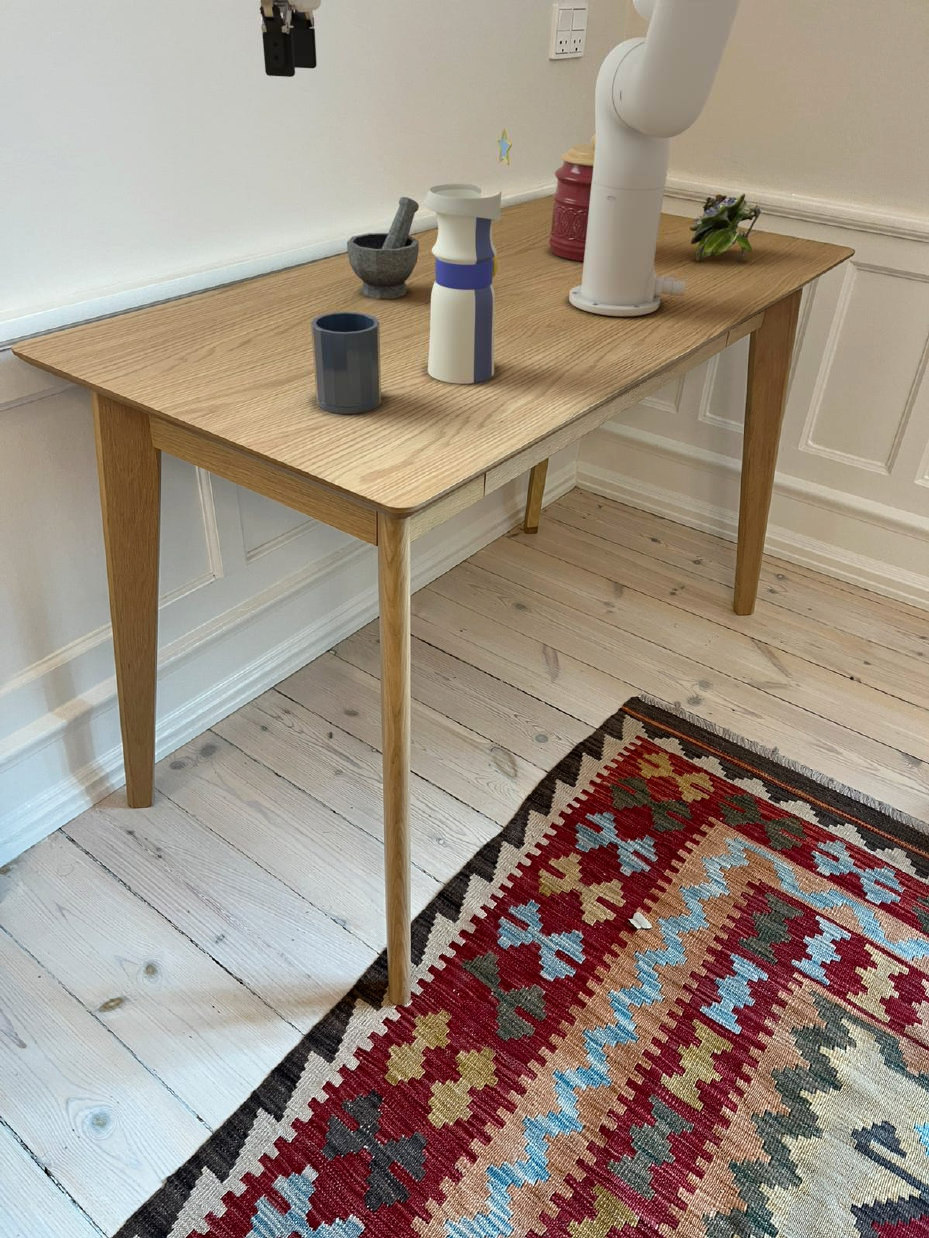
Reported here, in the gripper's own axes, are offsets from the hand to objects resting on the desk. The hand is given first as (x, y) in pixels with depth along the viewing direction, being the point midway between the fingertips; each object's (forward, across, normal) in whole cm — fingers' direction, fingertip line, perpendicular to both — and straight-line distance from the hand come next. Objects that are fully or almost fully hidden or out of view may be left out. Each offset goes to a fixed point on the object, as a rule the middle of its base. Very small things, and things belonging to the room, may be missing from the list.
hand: (292, 71), depth 106 cm
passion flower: (+28, +43, -59) cm, 78 cm away
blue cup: (+28, -27, -11) cm, 41 cm away
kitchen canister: (+28, +40, -37) cm, 61 cm away
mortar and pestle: (+28, +12, -8) cm, 32 cm away
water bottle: (+28, -16, -22) cm, 39 cm away
